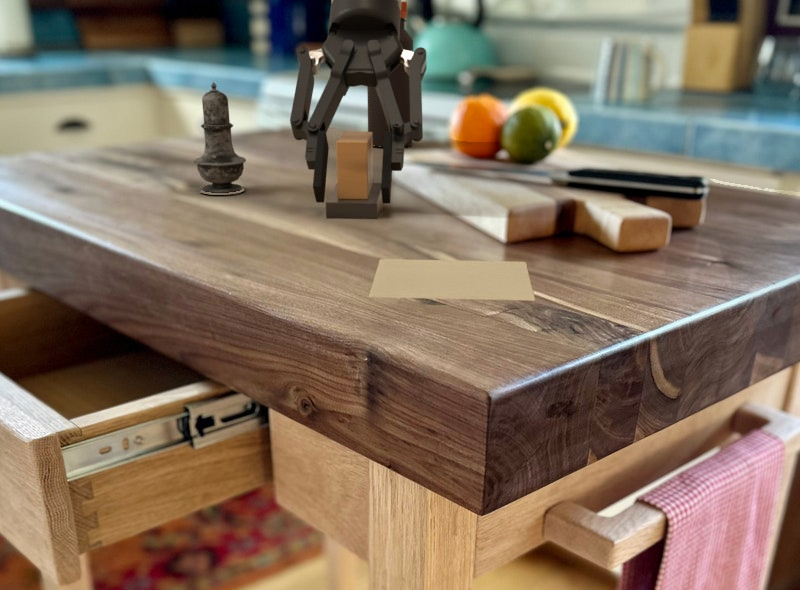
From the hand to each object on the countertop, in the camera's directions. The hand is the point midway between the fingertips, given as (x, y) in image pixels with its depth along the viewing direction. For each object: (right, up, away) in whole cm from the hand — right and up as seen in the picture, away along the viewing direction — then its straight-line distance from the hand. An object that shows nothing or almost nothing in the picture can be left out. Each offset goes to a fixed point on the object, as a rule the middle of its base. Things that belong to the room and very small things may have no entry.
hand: (351, 194), depth 85 cm
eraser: (0, -1, +5) cm, 5 cm away
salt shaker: (-16, +4, +16) cm, 23 cm away
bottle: (+3, +19, +48) cm, 52 cm away
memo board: (+9, -12, -18) cm, 23 cm away
